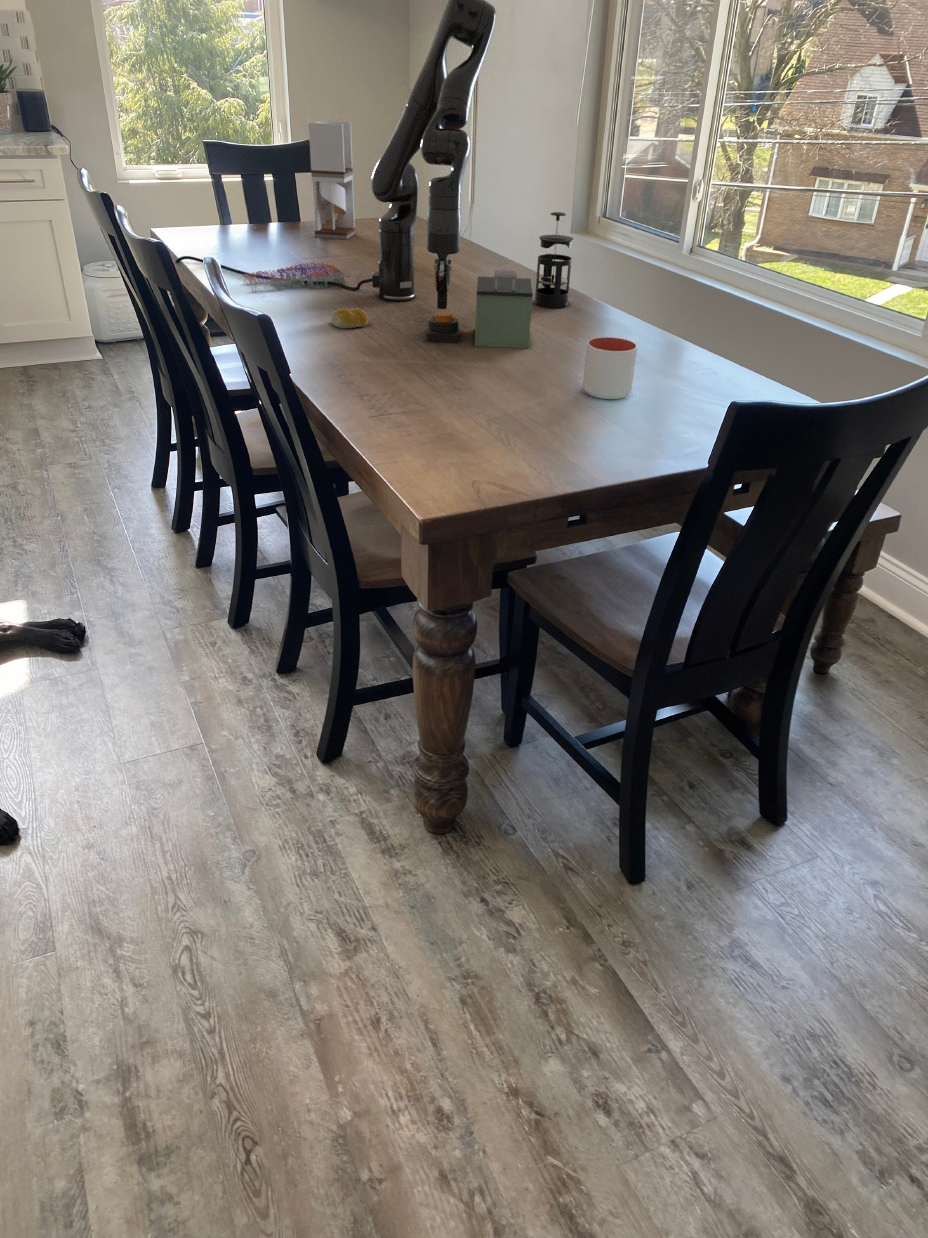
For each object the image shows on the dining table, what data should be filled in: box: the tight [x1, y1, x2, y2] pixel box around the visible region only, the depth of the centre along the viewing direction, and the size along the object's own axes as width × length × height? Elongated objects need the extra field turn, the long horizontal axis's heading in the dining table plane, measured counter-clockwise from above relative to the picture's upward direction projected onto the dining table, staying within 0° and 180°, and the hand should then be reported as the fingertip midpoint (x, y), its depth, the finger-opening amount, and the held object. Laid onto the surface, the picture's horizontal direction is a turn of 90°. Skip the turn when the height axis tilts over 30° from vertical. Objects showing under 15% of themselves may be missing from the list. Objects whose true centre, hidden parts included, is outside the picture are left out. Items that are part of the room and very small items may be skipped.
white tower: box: [308, 120, 356, 240], centre depth 305 cm, size 11×11×35 cm
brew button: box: [434, 311, 453, 322], centre depth 211 cm, size 4×4×2 cm
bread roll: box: [330, 307, 370, 329], centre depth 219 cm, size 8×9×4 cm
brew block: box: [427, 315, 460, 344], centre depth 212 cm, size 10×7×4 cm
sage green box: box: [474, 294, 533, 349], centre depth 210 cm, size 14×13×12 cm
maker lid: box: [476, 269, 534, 298], centre depth 205 cm, size 14×13×5 cm
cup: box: [582, 336, 638, 400], centre depth 180 cm, size 10×10×10 cm
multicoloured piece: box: [243, 262, 351, 293], centre depth 251 cm, size 30×15×5 cm, turn 115°
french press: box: [533, 211, 574, 309], centre depth 237 cm, size 12×9×23 cm
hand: (442, 307), depth 210 cm, fingers closed
